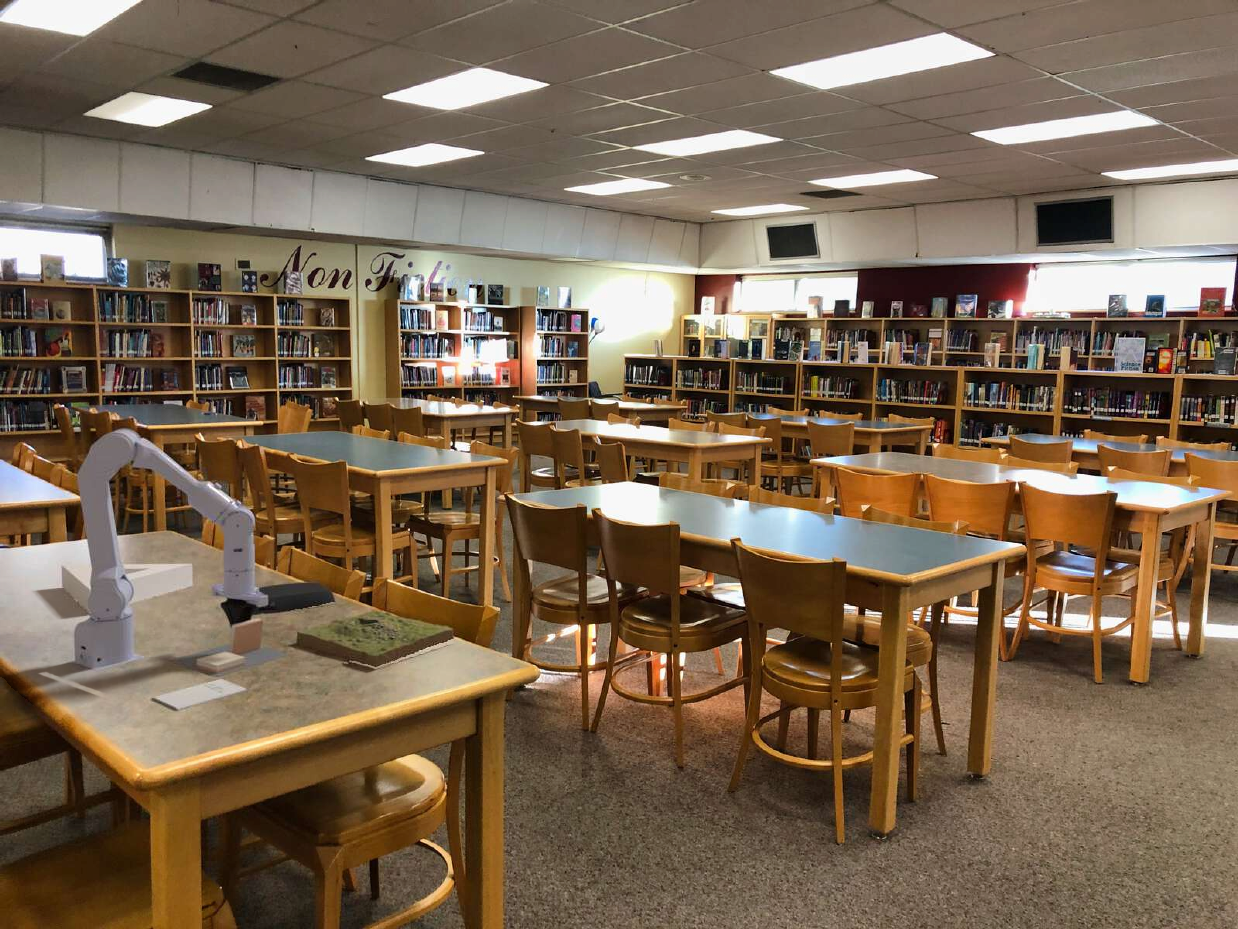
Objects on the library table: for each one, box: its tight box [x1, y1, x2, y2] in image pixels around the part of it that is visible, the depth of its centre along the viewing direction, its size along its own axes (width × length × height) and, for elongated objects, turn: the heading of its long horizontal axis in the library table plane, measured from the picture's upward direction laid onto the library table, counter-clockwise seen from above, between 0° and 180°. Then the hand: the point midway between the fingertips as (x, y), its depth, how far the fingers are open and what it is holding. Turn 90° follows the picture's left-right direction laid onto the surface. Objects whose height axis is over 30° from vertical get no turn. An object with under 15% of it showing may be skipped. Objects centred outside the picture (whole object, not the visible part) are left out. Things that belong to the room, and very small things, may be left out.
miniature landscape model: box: [296, 610, 455, 667], centre depth 191 cm, size 22×24×5 cm
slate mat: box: [168, 643, 291, 678], centre depth 178 cm, size 16×15×1 cm
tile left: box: [197, 651, 245, 673], centre depth 173 cm, size 6×2×6 cm
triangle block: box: [61, 563, 194, 615], centre depth 224 cm, size 30×26×6 cm
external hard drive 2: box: [252, 581, 336, 616], centre depth 220 cm, size 13×19×4 cm
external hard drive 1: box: [151, 678, 247, 712], centre depth 158 cm, size 2×8×12 cm
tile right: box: [229, 617, 264, 655], centre depth 181 cm, size 6×2×6 cm, turn 149°
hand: (239, 636), depth 182 cm, fingers closed
